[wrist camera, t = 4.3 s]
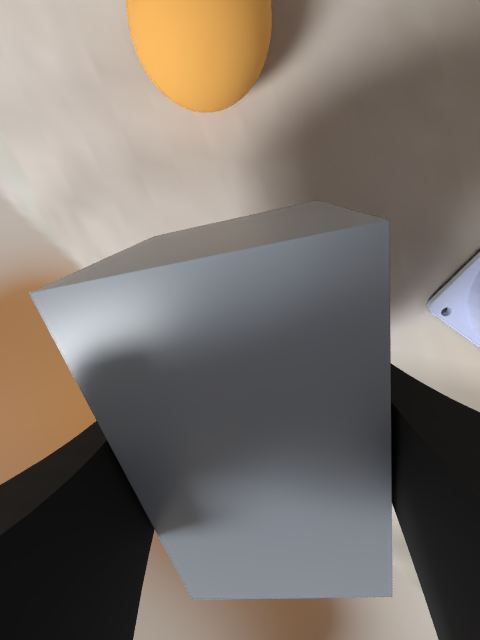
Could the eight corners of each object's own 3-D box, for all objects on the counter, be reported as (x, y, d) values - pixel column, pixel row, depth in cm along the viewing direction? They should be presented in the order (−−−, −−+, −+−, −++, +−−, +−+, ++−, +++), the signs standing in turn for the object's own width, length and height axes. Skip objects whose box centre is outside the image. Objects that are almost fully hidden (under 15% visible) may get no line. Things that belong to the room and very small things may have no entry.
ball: (295, 28, 12) (312, -66, 8) (231, 146, 14) (214, 128, 9) (190, -61, 11) (139, -227, 7) (138, 78, 13) (71, 23, 9)
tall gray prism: (339, 427, 14) (392, 597, 8) (220, 439, 15) (192, 599, 9) (316, 200, 10) (389, 219, 4) (154, 236, 11) (29, 293, 5)
